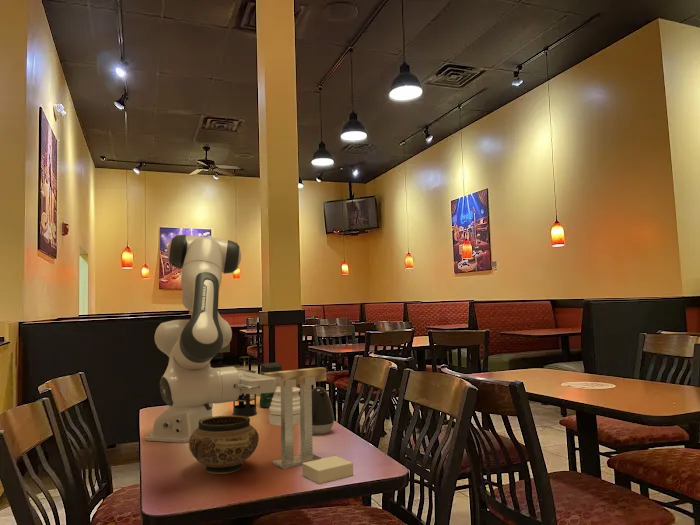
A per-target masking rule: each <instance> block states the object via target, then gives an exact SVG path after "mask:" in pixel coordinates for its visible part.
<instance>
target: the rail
mask: <svg viewBox="0 0 700 525" xmlns="http://www.w3.org/2000/svg"><path fill="white" fill-rule="evenodd" d="M264 375H265V376H269V377H276V376H278V377H281V383H280V384H276V386H284V380H289V379H296V385H300V384H301V383H304V378H307V377H315V383H316V382H317V383H318V382H324V381H327V367H320V366H319V367H309V368H299V369H290V370H282V371H278V372H268V373H264Z"/></svg>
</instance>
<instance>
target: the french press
mask: <svg viewBox="0 0 700 525" xmlns="http://www.w3.org/2000/svg"><path fill="white" fill-rule="evenodd" d="M250 358H251V357H250V356H247V355H246V356H245V355H243V356H239V359H243V370H241V371H247V372H251V373H256V372H257V371H256V370H249V369H248V370H246V361H247V360H246V359H250ZM256 374H257V373H256ZM253 395H254V396H251V394H245V393H242V395H240V396H238V399H237V400H236V401H232V402H233V405H232V406H233V408H232V410H233V413H232V415H239V416H247V417H249V418H250V417H254V416H256V415H257V394H253ZM252 401H254V404H253V403H251V402H252ZM236 402H238V404H237V405H236Z"/></svg>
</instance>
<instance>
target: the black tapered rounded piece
mask: <svg viewBox="0 0 700 525" xmlns="http://www.w3.org/2000/svg"><path fill="white" fill-rule="evenodd" d="M311 390H312V435H326V434H328V433H329V432H330V431H331V430H332V428H333V425H334V422H335V415H334V409H333V406H332V402H331V401H332V400H331V398H330V396H329V394H328V392H327V391H326V389H325V388H324V387H321V386H316V387H314V388H312V389H311Z"/></svg>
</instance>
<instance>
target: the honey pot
mask: <svg viewBox="0 0 700 525" xmlns="http://www.w3.org/2000/svg"><path fill="white" fill-rule="evenodd" d="M292 389H293V426H294V425H300V387H297V386H296V387H292ZM268 413H269V414H268V423H269V425H271V426H272V425H273V426H280V427H281V387H279V386H277V387H276V391H275V392H274V396H273V398H272V402H271V406H270V407H269V408H268Z"/></svg>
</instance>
